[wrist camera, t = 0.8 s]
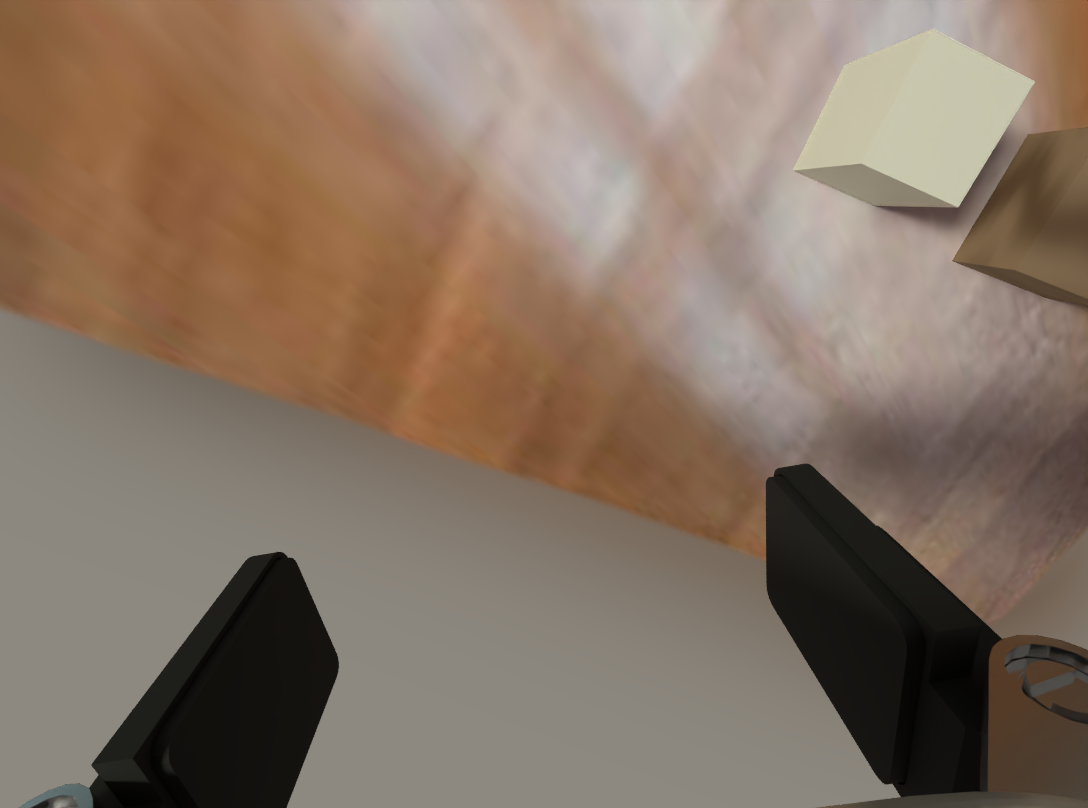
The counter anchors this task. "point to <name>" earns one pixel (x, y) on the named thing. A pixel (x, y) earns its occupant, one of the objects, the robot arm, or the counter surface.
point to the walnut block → (1038, 220)
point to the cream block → (913, 123)
